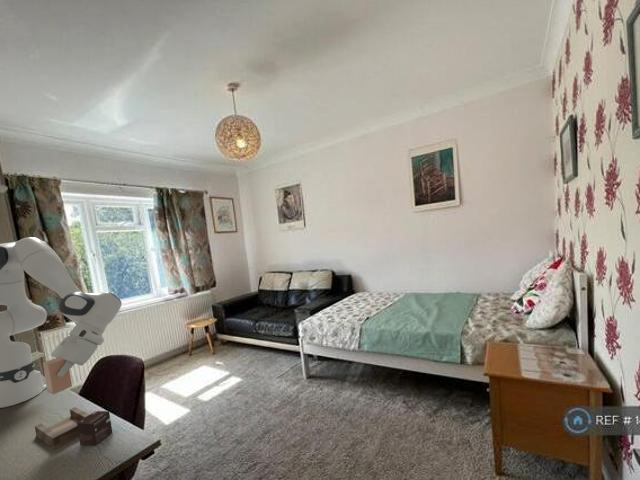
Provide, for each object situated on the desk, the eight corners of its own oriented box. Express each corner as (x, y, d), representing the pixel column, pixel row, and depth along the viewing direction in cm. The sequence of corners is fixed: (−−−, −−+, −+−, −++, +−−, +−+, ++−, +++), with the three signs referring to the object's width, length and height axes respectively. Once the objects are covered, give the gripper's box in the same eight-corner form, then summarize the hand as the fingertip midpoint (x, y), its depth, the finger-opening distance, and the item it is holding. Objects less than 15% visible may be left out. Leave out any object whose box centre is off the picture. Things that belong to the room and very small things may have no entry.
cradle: (36, 436, 98) (34, 426, 98) (76, 416, 108) (74, 406, 107) (54, 449, 90) (53, 438, 90) (96, 426, 99) (94, 416, 99)
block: (47, 391, 97) (42, 362, 97) (66, 383, 102) (61, 356, 101) (53, 394, 95) (48, 364, 94) (72, 386, 99) (67, 357, 99)
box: (95, 446, 89) (91, 423, 89) (79, 445, 90) (76, 423, 90) (113, 432, 95) (109, 410, 95) (98, 432, 96) (94, 410, 96)
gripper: (64, 329, 109) (33, 366, 101) (89, 333, 98) (57, 376, 90) (81, 336, 113) (52, 373, 105) (106, 341, 102) (76, 382, 94)
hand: (54, 374), depth 97 cm, fingers closed on block, 5 cm apart
